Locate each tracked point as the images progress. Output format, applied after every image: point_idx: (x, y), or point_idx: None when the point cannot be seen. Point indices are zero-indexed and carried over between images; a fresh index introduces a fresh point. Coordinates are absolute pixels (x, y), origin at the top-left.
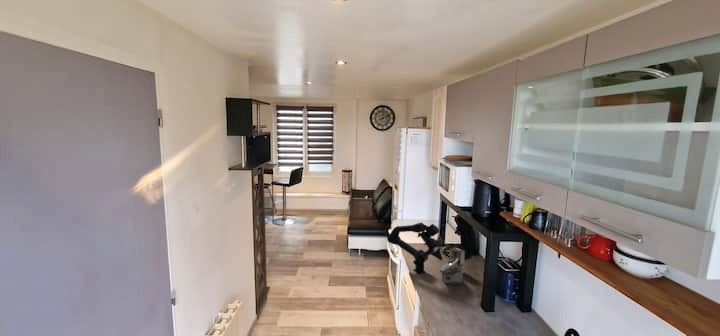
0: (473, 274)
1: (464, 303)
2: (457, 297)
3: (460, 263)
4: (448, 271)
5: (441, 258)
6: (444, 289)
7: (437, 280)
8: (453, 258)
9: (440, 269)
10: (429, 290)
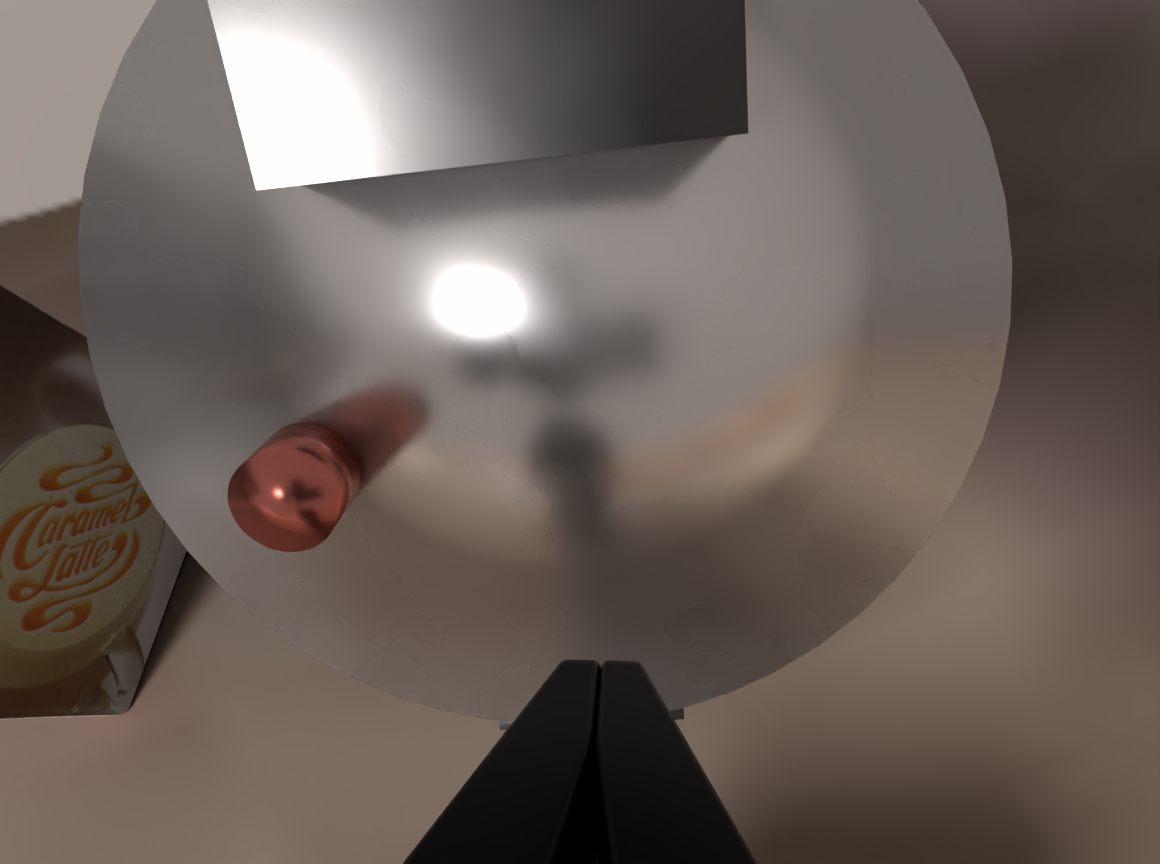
0: (75, 249)
1: (1156, 11)
2: (1085, 147)
3: (20, 298)
4: None
5: (627, 704)
6: (1029, 431)
7: (784, 732)
8: (300, 99)
9: (753, 678)
10: None
